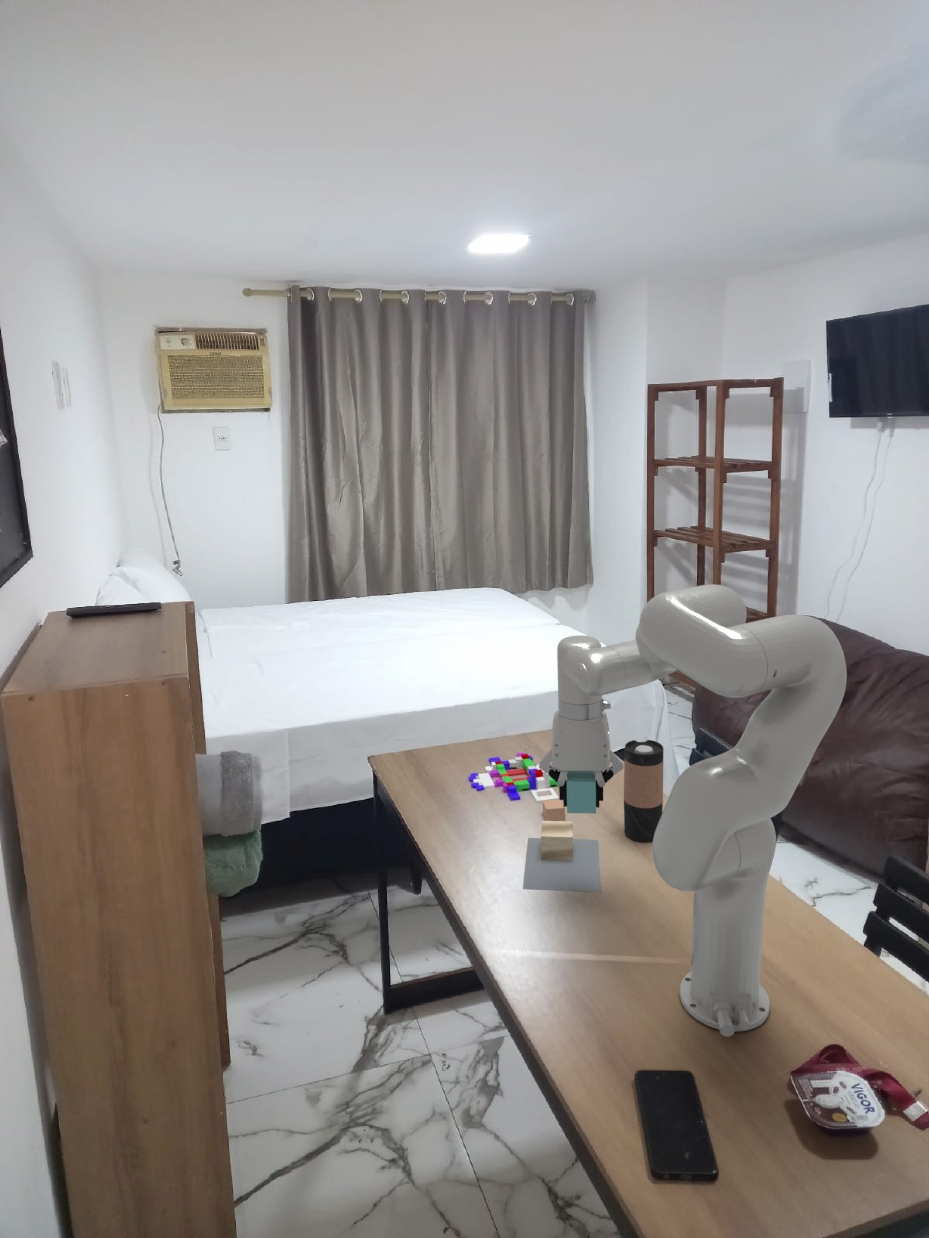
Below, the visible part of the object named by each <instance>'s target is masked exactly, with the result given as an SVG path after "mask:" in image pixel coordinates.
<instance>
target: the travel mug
mask: <svg viewBox="0 0 929 1238" xmlns="http://www.w3.org/2000/svg"><path fill="white" fill-rule="evenodd" d="M623 769H624V770H623V816H624V817H623V821H624V824H623V825H624V836H625V837H626V838H627V839H629V840H630V841H633V842H636V843H640V844H650V843H653V838H654V834H655V831H656V828H657V825H658V823H659V820H660V818H661V815H662V813H663V805H664V804H663V803H664V746H663V745H662V743H660V742H658V741H657V740H656V741H655V740H651V739H647V740H645V741H637V740H636V739H632V740H630V741H627V742H626V743H625V745H624V762H623Z"/></svg>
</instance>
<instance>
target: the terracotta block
mask: <svg viewBox="0 0 929 1238" xmlns="http://www.w3.org/2000/svg"><path fill="white" fill-rule="evenodd" d="M542 813H543V817H544V819H545V821H566V807H563V800H559V799H555V800H543V803H542Z"/></svg>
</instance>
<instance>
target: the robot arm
mask: <svg viewBox="0 0 929 1238" xmlns="http://www.w3.org/2000/svg"><path fill="white" fill-rule="evenodd" d="M747 613H748V612H747V607H746V604H745V602H744V600H743V598H742V596H740V594H739V593H738V592H736V591H735V590H734V589H732V588H730V587H729V586H724V585H721V584H702V585H697V586H691V587H687V588H685V587H684V588H681V589H675V590H670V591H665V592H661V593H659V594H658V595H655V596H654V597H652V598H651V599H650V600H649V601H647V602H646V604H645V606H644V607H643V609H642V611H641V613H640V617H639V623H638V626H637V627H636V631H635V639H633V640H629V641H625V642H620V643H615V644H609V645H607V646H603V647H602V644H601V642H600V640H598V639H597V638H595V637H593V636H589V635H571V636H566V637H564V638H562V639H561V640H559V642H558V644H557V649H556V654H557V655H556V660H557V692H558V693H557V703H558V706H557V707H558V709H557V711H555V712H554V714H553V718H552V719H553V720H552V726H551V748H550V749H549V751H548V752H547V753H546V754H545V755H544V756H543V757H542V759H541V760H540V761H539V762H538V764H539V768H540V769H542V770H543V771H544V772H546V773H548V774H549V776H550V777H551V778H552V779H554V780H555V781H556V782H557V784H558V785H559V786H558V789H559V790H558V791H559V792H558V795H559V796H558V797H559V800H562V802H563V807H565V808H567V773H568V771H594V773H595V778H596V809H597V808H600V802H604V787H605V786H606V783H608V781H610V780H611V779H612V778H613V777H614V775H616V774H618V773H620V772H621V771H623V769H624V762H622V760H621V759H620V758H619V757H618V755H616V754H615V753H614V752H613V750H612V749H611V744H610V743H611V741H610V740H611V739H610V728H609V721H608V716H607V713H606V711H605V710H609V709H611V708H612V707H611V704H612V703H611V700H605V699H604V698H603V696H605V695H608V694H614V693H616V692H620V691H624V690H629V689H632V688H636V687H641V686H644V685H647V684H651V683H653V682H654V681H657V680H659V679H662V678H664V677H666V676H668V675H670V674H673V673H674V672H676V671H679V672H680V673H681V674H683V675H685V676H687V677H688V678H689V679H691V680H693V681H695V682H696V683H697V684H699V685H700V686H702V687H704V688H705V689H707V690H708V691H710V692H712V693H714V694H717V695H719V696H723V697H726V698H732V699H733V698H735V699H736V698H746V697H748V696H754V695H756V694H759V693H763V692H768V691H770V692H769V694H768V695H766V697H765V698H764V700H762V701H761V703H760V704H758V706H757V707H756V708H755V710H754V711H753V712H752V714H751V716H750V717H749V719H748V722H747V724H746V727H745V730H744V731H743V733H742V734H741V737H740V739H739V740H738V742H737V743H736V745H734V747H732V748H731V749H729V750H728V751H725V752H722V753H720V754H718V755H715V756H713V757H708V758H705V759H703V760H699V761H698V762H695V763H694V764H692V765H690V766H689V767H687V768H686V769H685V770H683V772H682V773H681V774H680V775H679V776H678V777H677V779H676V781H675V783H674V785H673V787H672V789H671V790H670V791H671V792H670V793H669V796H668V798H667V801H666V803H665V806H664V808H663V809H662V815H661V818H660V820H659V823H658V825H657V828H656V831H655V834H654V838H653V842H652V858H653V863H654V866H655V869H656V870H657V871H656V872H657V873H658V874H659V876H660V878H661V879H662V880H663V881H664V883H666V884H667V885H669V887H672V888H673V889H676V890H677V891H681V892H693V904H692V905H693V906H692V907H693V909H692V931H691V932H692V936H691V937H692V938H691V962H690V965H691V966H690V967H691V968H690V971H689V972H688V973H685V975H684V976H683V978H682V979H681V981H680V984H679V999H680V1002H681V1004H682V1006H683V1007H684V1010H685V1011H686V1012H687V1013H689V1015H691V1016H692V1018H694V1019H695V1020H697V1021H699V1022H700V1023H702V1024H704V1025H706V1026H708V1027H711V1028H712V1029H713V1028H714V1029H717V1030H719V1032H720V1034H721V1036H723V1037H727V1038H728V1037H733V1035H734V1034H735V1032H744V1031H745V1032H746V1031H749V1030H753V1029H756V1028H757V1027H759V1026H761V1025H762V1024H764V1022H766V1020H767V1018H768V1017H769V1013H770V1008H771V1001H770V997H769V995H768V993H767V990H766V989H765V988H764V987H763V985H762V984H761V981H760V980H761V964H762V951H763V950H762V949H763V935H764V934H763V931H764V930H763V929H764V918H765V917H764V916H765V903H766V892H767V886H768V879H769V876H770V871H771V868H772V865H773V861H774V859H775V858H774V857H775V852H776V847H777V835H776V830H775V826H774V823H773V821H772V819H771V818H773V817H775V816H777V815H778V814H780V813H781V812H783V810H785V808H786V807H787V806H788V804H789V803H790V801H791V799H792V797H793V795H794V793H795V792H796V789H797V787H798V785H799V784H800V782H801V780H802V778H803V776H804V774H805V772H806V770H807V768H808V767H809V764H811V761H812V759H813V756H814V755H815V753H816V751H817V748H818V746H819V745H820V743H821V741H822V740H823V738H824V736H825V735H826V733H827V731H828V730H829V728H830V726H831V724H832V723H833V721H834V719H835V717H836V716H837V713H838V711H839V710H840V707H841V704H842V702H843V699H844V696H845V692H846V686H847V677H848V673H847V672H848V671H847V664H846V657H845V655H844V650H843V647H842V645H841V643H840V641H839V639H838V637H837V635H836V633H834V631H833V630H832V628H830V627H829V626H828V625H827V624H826V623H825V622H823V621H821V620H820V619H818V618H816V617H813V616H810V615H804V614H786V615H785V614H784V615H778V616H774V617H767V618H764V619H759V620H755V621H750V622H746V621H747ZM551 763H552V764H551ZM610 765H611V766H610Z"/></svg>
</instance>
